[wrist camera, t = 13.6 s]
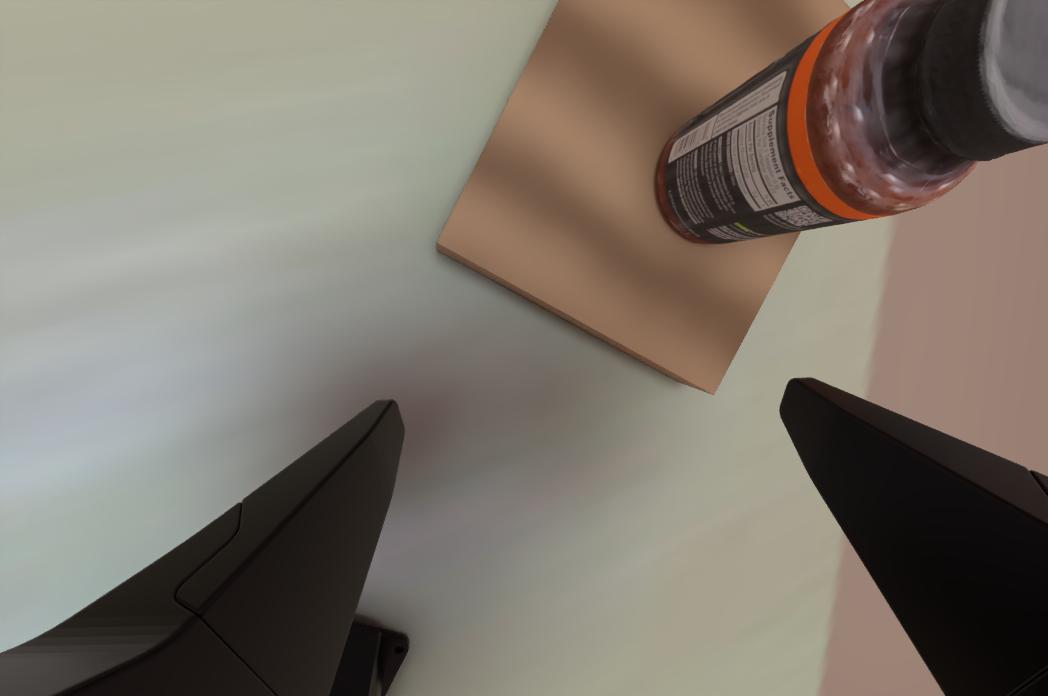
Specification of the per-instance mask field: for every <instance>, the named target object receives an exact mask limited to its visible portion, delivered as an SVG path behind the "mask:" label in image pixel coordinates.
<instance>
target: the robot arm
mask: <svg viewBox="0 0 1048 696" xmlns="http://www.w3.org/2000/svg"><path fill="white" fill-rule="evenodd" d="M779 411H780V416H781V419H782V421H783V423H784V425H785V427H786V429H787V431H788V434H789V436H790V438H791V440H792V442H793V444H794V446H795V448H796V450H797V452H798V454H799V456H800V458H801V461H802V463H803V465H804V467H805V469H806V471H807V472H808V474H809V476H810V478H811V480H812V481H813V483H814V485H815V487H816V488H817V490H818V491H819V493H820V495H821V496H822V498H823V500H824V501H825V503H826V504H827V506H828V508H829V509H830V511H831V512H832V514H833V516H834V517H835V519H836V521H837V522H838V524H839V525H840V527H841V529H842V530H843V532H844V533H845V535H846V537H847V538H848V540H849V541H850V543H851V545H852V546H853V548H854V550H855V551H856V553H857V554H858V556H859V558H860V559H861V561H862V562H863V564H864V566H865V567H866V569H867V570H868V572H869V574H870V575H871V577H872V579H873V580H874V582H875V583H876V585H877V587H878V588H879V590H880V591H881V593H882V595H883V596H884V598H885V600H886V601H887V603H888V604H889V606H890V608H891V609H892V611H893V612H894V614H895V616H896V617H897V619H898V621H899V622H900V623H901V625H902V627H903V628H904V630H905V632H906V633H907V635H908V637H909V638H910V640H911V641H912V643H913V645H914V646H915V648H916V650H917V651H918V653H919V654H920V656H921V658H922V659H923V661H924V662H925V664H926V666H927V667H928V669H929V670H930V672H931V674H932V675H933V677H934V678H935V680H936V682H937V683H938V685H939V687H940V688H941V690H942V691H943V693H944V694H945V696H1048V476H1045V475H1043V474H1041V473H1038V472H1036V471H1033V470H1030V471H1029V470H1028V469H1027V468H1026V467H1024V466H1021V465H1019V464H1017V463H1014V462H1012V461H1010V460H1007V459H1005V458H1002V457H1000V456H997V455H995V454H993V453H990V452H988V451H986V450H983V449H981V448H978V447H976V446H974V445H971V444H969V443H967V442H964V441H961V440H959V439H957V438H954V437H952V436H950V435H948V434H945V433H943V432H940V431H938V430H936V429H933V428H931V427H928V426H926V425H924V424H921V423H919V422H917V421H914V420H912V419H909V418H907V417H905V416H902V415H900V414H898V413H895V412H893V411H890V410H888V409H885V408H883V407H881V406H879V405H876V404H874V403H871V402H869V401H867V400H864V399H862V398H859V397H857V396H855V395H852V394H850V393H848V392H845V391H843V390H840V389H838V388H836V387H833V386H831V385H829V384H826V383H824V382H821V381H819V380H817V379H814V378H810V377H806V378H793V379H791V380H790V381H789V382H788V384H787V386H786V389H785V392H784V395H783V398H782V401H781V404H780V410H779ZM404 433H405V430H404V424H403V421H402V417H401V414H400V411H399V408H398V404H397V402H396V401H395V400H393V399H389V400H377V401H376V402H374V403H373V404H371V405H370V406H369V407H367V408H366V409H365V410H363V411H362V412H361V413H359V414H358V415H356V416H355V417H354V418H352V419H351V420H350V421H348V422H347V423H346V424H344V425H343V426H342V427H340V428H339V429H338V430H336V431H335V432H334V433H332V434H331V435H329V436H328V437H327V438H325V439H324V440H323V441H321V442H320V443H319V444H317V445H316V446H315V447H313V448H312V449H311V450H309V451H308V452H306V453H305V454H304V455H302V456H301V457H300V458H298V459H297V460H296V461H294V462H293V463H292V464H290V465H289V466H288V467H286V468H285V469H283V470H282V471H281V472H279V473H278V474H277V475H275V476H274V477H273V478H271V479H270V480H269V481H267V482H266V483H265V484H263V485H262V486H260V487H259V488H258V489H256V490H255V491H254V492H252V493H251V494H250V495H248V496H247V497H246V498H244V499H243V500H242V503H241V502H239V503H237V504H236V505H235V506H233V507H232V508H231V509H229V510H228V511H227V512H225V513H224V514H223V515H221V516H220V517H218V518H217V519H216V520H214V521H213V522H211V523H210V524H209V525H207V526H206V527H204V528H203V529H202V530H200V531H199V532H197V533H196V534H195V535H193V536H192V537H190V538H189V539H188V540H186V541H185V542H183V543H182V544H180V545H179V546H177V547H176V548H174V549H173V550H171V551H170V552H168V553H167V554H165V555H164V556H162V557H161V558H159V559H158V560H156V561H155V562H153V563H152V564H150V565H149V566H147V567H146V568H144V569H143V570H141V571H140V572H138V573H137V574H135V575H134V576H132V577H131V578H129V579H128V580H126V581H125V582H123V583H122V584H120V585H119V586H117V587H115V588H114V589H112V590H111V591H109V592H108V593H106V594H105V595H103V596H102V597H100V598H99V599H97V600H96V601H94V602H93V603H91V604H90V605H88V606H87V607H85V608H84V609H82V610H81V611H79V612H78V613H76V614H75V615H73V616H72V617H70V618H68V619H67V620H65V621H64V622H62V623H60V624H59V625H57V626H56V627H54V628H52V629H50V630H49V631H47V632H45V633H43V634H41V635H39V636H38V637H36V638H34V639H31V640H29V641H27V642H25V643H23V644H21V645H19V646H17V647H14V648H12V649H9V650H7V651H4V652H2V653H0V696H385V695H386V693H387V691H388V689H389V687H390V685H391V683H392V681H393V679H394V677H395V675H396V673H397V671H398V669H399V668H400V666H401V664H402V662H403V660H404V658H405V656H406V654H407V652H408V649H409V639H408V638H407V637H406V636H404V635H400V634H397V633H393V632H389V631H385V630H382V629H378V628H374V627H371V626H367V625H363V624H359V623H356V622H352V621H353V618H354V615H355V611H356V608H357V605H358V602H359V599H360V596H361V593H362V589H363V586H364V583H365V580H366V577H367V574H368V571H369V567H370V564H371V561H372V558H373V555H374V552H375V549H376V545H377V542H378V539H379V536H380V533H381V530H382V527H383V523H384V520H385V517H386V514H387V511H388V508H389V505H390V501H391V498H392V494H393V490H394V485H395V481H396V475H397V470H398V465H399V460H400V455H401V450H402V445H403V440H404ZM399 645H401V646H402V647H396V646H399Z"/></svg>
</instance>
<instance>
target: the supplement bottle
mask: <svg viewBox="0 0 1048 696" xmlns="http://www.w3.org/2000/svg"><path fill="white" fill-rule="evenodd" d="M1046 143H1048V0H864V1H862V2H861V3H859V4H858V5H856V6H855V7H853V8H852V9H850V10H849V11H847V12H846V13H845V14H843V15H842V16H840V17H838V18H837V19H835V20H833V21H831V22H830V23H829V24H827V25H826V26H825V27H824V28H823V29H821V30H820V31H819V32H817V33H816V34H814V35H812V36H810V37H809V38H807V39H806V40H805V41H804V42H802V43H801V44H799V45H798V46H796V47H795V48H793V49H792V50H790V51H789V52H788V53H787V54H785V55H783V56H782V57H780V58H779V59H777V60H776V61H774V62H773V63H771V64H770V65H769V66H768V67H766V68H765V69H763V70H761V71H760V72H758V73H757V74H755V75H754V76H752V77H751V78H750V79H748V80H747V81H745V82H744V83H743V84H742V85H740V86H739V87H737V88H736V89H734V90H732V91H731V92H729V93H728V94H727V95H725V96H724V97H722V98H721V99H719V100H718V101H717V102H716V103H714V104H713V105H711V106H709V107H707V108H706V109H705V110H704V111H702V112H701V113H700V114H698V115H696V116H695V117H693V118H692V119H691V120H689V121H688V122H687V123H686V124H685V125H684V126H682V127H681V128H680V129H679V130H678V131H677V132H676V133H675V134H674V135H673V136H672V138H671V139H670V141H669V142H668V144H667V145H666V148H665V150H664V152H663V155H662V158H661V161H660V164H659V169H658V174H657V189H658V197H659V200H660V204H661V206H662V209H663V212H664V214H665V216H666V217H667V219H668V221H669V222H670V224H671V225H672V226H673V227H674V228H675V229H676V230H677V231H678V232H679V233H681V234H682V235H683V236H685V237H686V238H688V239H690V240H692V241H695V242H698V243H703V244H727V243H732V242H738V241H745V240H751V239H757V238H763V237H769V236H774V235H780V234H786V233H792V232H798V231H804V230H809V229H816V228H821V227H827V226H833V225H839V224H845V223H850V222H856V221H863V220H867V219H873V218H879V217H885V216H891V215H895V214H899V213H902V212H905V211H909V210H912V209H916V208H919V207H922V206H924V205H926V204H929V203H930V202H933V201H934V200H936V199H938V198H940V197H941V196H943V195H944V194H946V193H947V192H949V191H950V190H951V189H953V188H954V187H955V186H956V185H958V184H959V183H960V182H961V181H962V180H963V179H964V178H965V177H966V176H967V175H968V174H969V173H970V172H971V171H972V170H973V169H974V168H975V166H976V165H977V162H978V161H990V160H992V159H996V158H999V157H1001V156H1004V155H1005V154H1009V153H1013V152H1017V151H1020V150H1023V149H1027V148H1030V147H1034V146H1038V145H1043V144H1046Z"/></svg>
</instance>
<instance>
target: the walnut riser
mask: <svg viewBox="0 0 1048 696" xmlns="http://www.w3.org/2000/svg"><path fill="white" fill-rule="evenodd" d="M850 9H851V8H850V7H849V6H848V5H847V4H846V3H845V2H844V1H843V0H559V2H558V4H557V6H556V8H555V10H554V12H553V13H552V15H551V17H550V19H549V21H548V23H547V25H546V27H545V29H544V31H543V33H542V35H541V37H540V39H539V41H538V43H537V45H536V47H535V49H534V51H533V53H532V55H531V57H530V59H529V61H528V63H527V65H526V67H525V69H524V71H523V73H522V75H521V77H520V79H519V81H518V83H517V85H516V87H515V89H514V91H513V93H512V94H511V96H510V98H509V100H508V102H507V104H506V106H505V108H504V110H503V112H502V114H501V116H500V118H499V120H498V122H497V124H496V126H495V128H494V130H493V132H492V134H491V136H490V138H489V140H488V142H487V144H486V146H485V148H484V150H483V152H482V154H481V156H480V158H479V160H478V162H477V164H476V166H475V168H474V170H473V172H472V174H471V175H470V177H469V179H468V181H467V183H466V185H465V187H464V189H463V191H462V193H461V195H460V197H459V199H458V201H457V203H456V205H455V207H454V209H453V211H452V213H451V215H450V217H449V219H448V221H447V223H446V225H445V227H444V229H443V231H442V233H441V235H440V237H439V239H438V241H437V250H438V251H440V252H442V253H443V254H445V255H447V256H449V257H451V258H453V259H454V260H456V261H458V262H460V263H462V264H464V265H465V266H467V267H469V268H471V269H473V270H475V271H476V272H478V273H480V274H482V275H484V276H486V277H487V278H489V279H491V280H493V281H495V282H497V283H498V284H500V285H502V286H504V287H506V288H508V289H509V290H511V291H513V292H515V293H517V294H519V295H520V296H522V297H524V298H526V299H528V300H530V301H531V302H533V303H535V304H537V305H539V306H541V307H542V308H544V309H546V310H548V311H550V312H552V313H553V314H555V315H557V316H559V317H561V318H563V319H564V320H566V321H568V322H570V323H572V324H574V325H575V326H577V327H579V328H581V329H583V330H585V331H586V332H588V333H590V334H592V335H594V336H596V337H597V338H599V339H601V340H603V341H605V342H607V343H608V344H610V345H612V346H614V347H616V348H618V349H619V350H621V351H623V352H625V353H627V354H629V355H630V356H632V357H634V358H636V359H638V360H640V361H641V362H643V363H645V364H647V365H649V366H651V367H652V368H654V369H656V370H658V371H660V372H662V373H663V374H665V375H667V376H669V377H671V378H672V379H674V380H676V381H678V382H680V383H682V384H685V385H688V386H690V387H693V388H696V389H699V390H701V391H704V392H707V393H709V394H712V395H714V394H715V392H716V390H717V388H718V386H719V384H720V383H721V381H722V379H723V377H724V375H725V373H726V371H727V369H728V368H729V366H730V364H731V362H732V360H733V358H734V356H735V354H736V352H737V351H738V349H739V347H740V345H741V343H742V341H743V339H744V337H745V336H746V334H747V332H748V330H749V328H750V326H751V324H752V322H753V320H754V319H755V317H756V315H757V313H758V311H759V309H760V307H761V305H762V304H763V302H764V300H765V298H766V296H767V294H768V292H769V290H770V288H771V287H772V285H773V283H774V281H775V279H776V277H777V275H778V273H779V272H780V270H781V268H782V266H783V264H784V262H785V260H786V258H787V256H788V255H789V253H790V251H791V249H792V247H793V245H794V243H795V241H796V240H797V238H798V236H799V234H800V232H801V231H798V232H792V233H786V234H780V235H774V236H769V237H763V238H757V239H751V240H745V241H738V242H732V243H727V244H703V243H698V242H695V241H692V240H690V239H688V238H686V237H685V236H683V235H682V234H681V233H679V232H678V231H677V230H676V229H675V228H674V227H673V226H672V225H671V224H670V222H669V221H668V219H667V217H666V216H665V214H664V212H663V209H662V206H661V204H660V200H659V197H658V189H657V174H658V169H659V164H660V161H661V158H662V155H663V152H664V150H665V148H666V145H667V144H668V142H669V141H670V139H671V138H672V136H673V135H674V134H675V133H676V132H677V131H678V130H679V129H680V128H681V127H682V126H684V125H685V124H686V123H687V122H688V121H689V120H691V119H692V118H693V117H695V116H696V115H698V114H700V113H701V112H702V111H704V110H705V109H706V108H707V107H709V106H711V105H713V104H714V103H716V102H717V101H718V100H719V99H721V98H722V97H724V96H725V95H727V94H728V93H729V92H731V91H732V90H734V89H736V88H737V87H739V86H740V85H742V84H743V83H744V82H745V81H747V80H748V79H750V78H751V77H752V76H754V75H755V74H757V73H758V72H760V71H761V70H763V69H765V68H766V67H768V66H769V65H770V64H771V63H773V62H774V61H776V60H777V59H779V58H780V57H782V56H783V55H785V54H787V53H788V52H789V51H790V50H792V49H793V48H795V47H796V46H798V45H799V44H801V43H802V42H804V41H805V40H806V39H807V38H809V37H810V36H812V35H814V34H816V33H817V32H819V31H820V30H821V29H823V28H824V27H825V26H826V25H827V24H829V23H830V22H831V21H833V20H835V19H837V18H838V17H840V16H842V15H843V14H845V13H846V12H847V11H849V10H850Z"/></svg>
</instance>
